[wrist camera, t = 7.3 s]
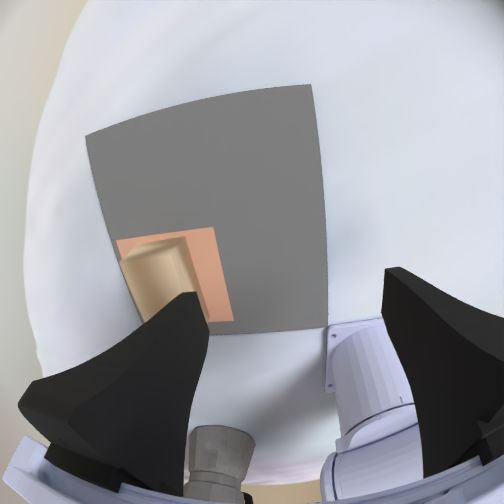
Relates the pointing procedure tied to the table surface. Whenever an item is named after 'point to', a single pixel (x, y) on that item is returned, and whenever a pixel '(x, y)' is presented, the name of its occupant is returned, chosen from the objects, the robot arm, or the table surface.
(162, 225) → the mat
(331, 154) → the table surface
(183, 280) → the card box
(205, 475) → the coffeepot
